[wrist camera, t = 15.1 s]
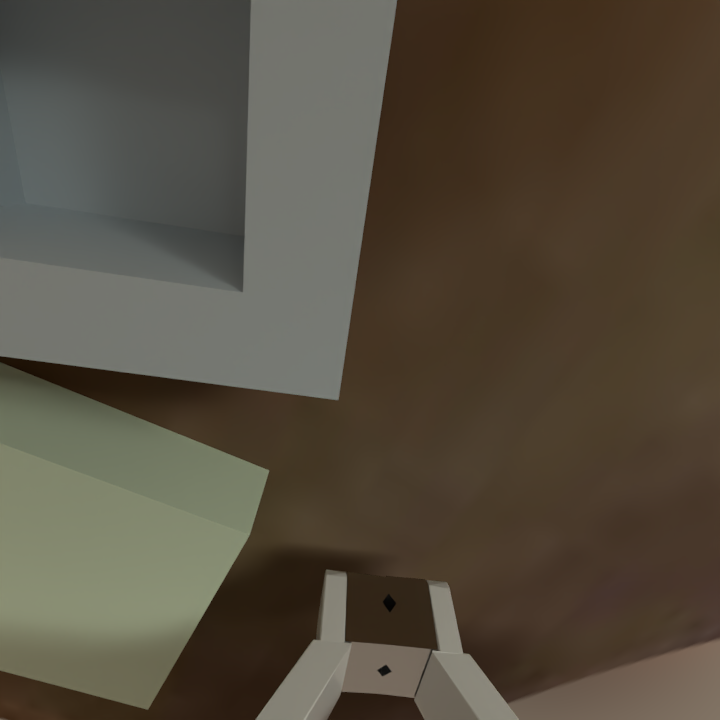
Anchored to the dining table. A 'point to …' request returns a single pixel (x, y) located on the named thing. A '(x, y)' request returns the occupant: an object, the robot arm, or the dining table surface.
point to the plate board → (108, 539)
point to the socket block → (188, 184)
